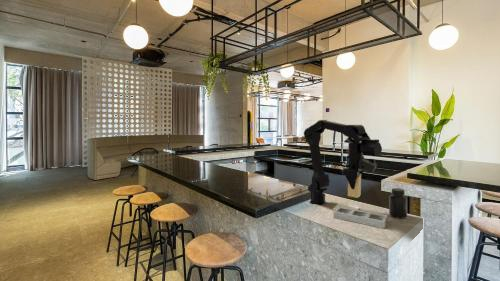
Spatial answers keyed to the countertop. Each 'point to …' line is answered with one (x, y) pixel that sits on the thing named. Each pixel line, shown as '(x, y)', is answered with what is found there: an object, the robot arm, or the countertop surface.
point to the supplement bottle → (398, 204)
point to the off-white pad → (346, 206)
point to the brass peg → (357, 190)
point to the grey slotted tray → (360, 217)
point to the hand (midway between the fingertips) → (354, 187)
